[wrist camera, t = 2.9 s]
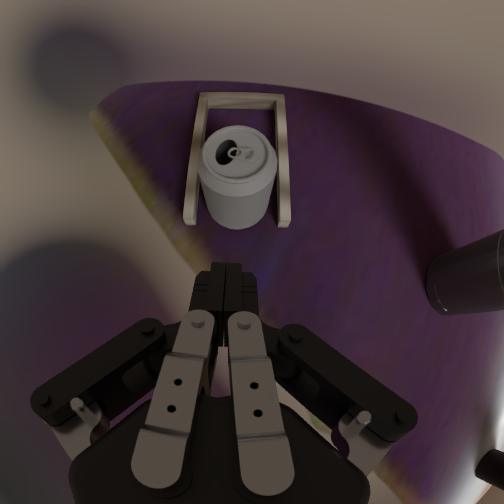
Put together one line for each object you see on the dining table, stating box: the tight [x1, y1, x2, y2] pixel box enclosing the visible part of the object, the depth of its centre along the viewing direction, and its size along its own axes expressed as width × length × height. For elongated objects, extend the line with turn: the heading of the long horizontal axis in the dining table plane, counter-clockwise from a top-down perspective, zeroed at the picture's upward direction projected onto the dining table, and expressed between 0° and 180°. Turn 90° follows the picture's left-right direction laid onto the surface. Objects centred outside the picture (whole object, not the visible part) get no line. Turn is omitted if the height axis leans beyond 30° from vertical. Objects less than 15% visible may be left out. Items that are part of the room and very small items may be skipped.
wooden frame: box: [183, 92, 291, 227], centre depth 35 cm, size 20×12×2 cm, turn 179°
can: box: [197, 125, 277, 229], centre depth 29 cm, size 8×8×12 cm
